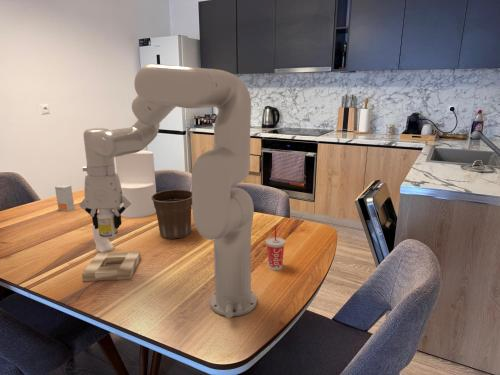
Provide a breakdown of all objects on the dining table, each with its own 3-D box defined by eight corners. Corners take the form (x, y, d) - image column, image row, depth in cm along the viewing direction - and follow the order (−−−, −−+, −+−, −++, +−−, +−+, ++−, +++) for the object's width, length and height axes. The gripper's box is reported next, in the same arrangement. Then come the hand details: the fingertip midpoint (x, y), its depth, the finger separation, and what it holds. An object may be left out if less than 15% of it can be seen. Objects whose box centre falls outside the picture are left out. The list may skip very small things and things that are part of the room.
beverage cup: (264, 270, 111) (264, 229, 107) (266, 261, 117) (266, 222, 113) (284, 272, 110) (285, 230, 106) (285, 262, 116) (285, 223, 112)
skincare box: (58, 210, 170) (54, 186, 166) (65, 207, 174) (61, 184, 170) (68, 211, 168) (64, 187, 165) (75, 208, 172) (71, 185, 169)
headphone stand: (102, 253, 124) (97, 221, 121) (94, 248, 128) (90, 217, 125) (114, 248, 127) (110, 217, 124) (106, 244, 131) (103, 214, 128)
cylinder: (128, 205, 176) (122, 150, 169) (162, 205, 175) (157, 150, 168) (113, 217, 159) (106, 156, 152) (151, 217, 159) (146, 156, 151)
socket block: (130, 279, 107) (129, 271, 106) (82, 281, 106) (81, 273, 105) (140, 258, 120) (140, 251, 119) (98, 259, 119) (97, 253, 118)
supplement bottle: (112, 230, 114) (109, 201, 111) (121, 235, 110) (118, 205, 108) (96, 235, 110) (92, 206, 107) (105, 240, 106) (101, 209, 104)
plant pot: (183, 244, 131) (180, 203, 127) (146, 238, 136) (142, 199, 132) (202, 228, 146) (200, 191, 142) (168, 224, 151) (166, 188, 147)
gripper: (66, 173, 100) (74, 232, 105) (127, 173, 101) (132, 231, 106) (76, 168, 107) (84, 223, 112) (134, 167, 109) (138, 222, 113)
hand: (107, 226), depth 109 cm, fingers closed on supplement bottle, 5 cm apart
